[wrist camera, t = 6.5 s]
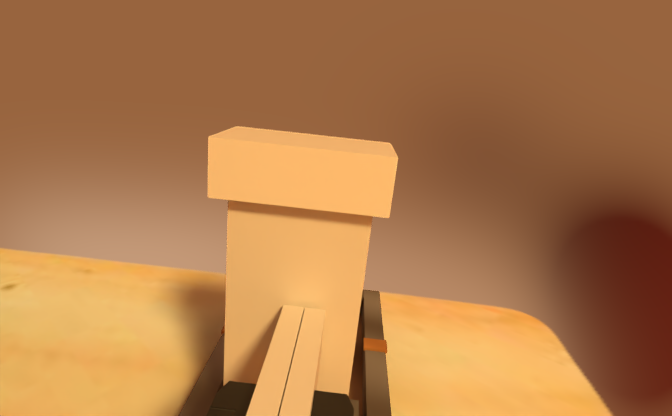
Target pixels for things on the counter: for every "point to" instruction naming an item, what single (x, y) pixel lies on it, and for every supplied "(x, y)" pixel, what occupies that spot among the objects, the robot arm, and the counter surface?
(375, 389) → the fader rail
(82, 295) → the counter surface
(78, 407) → the counter surface
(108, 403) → the counter surface
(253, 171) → the fader knob
